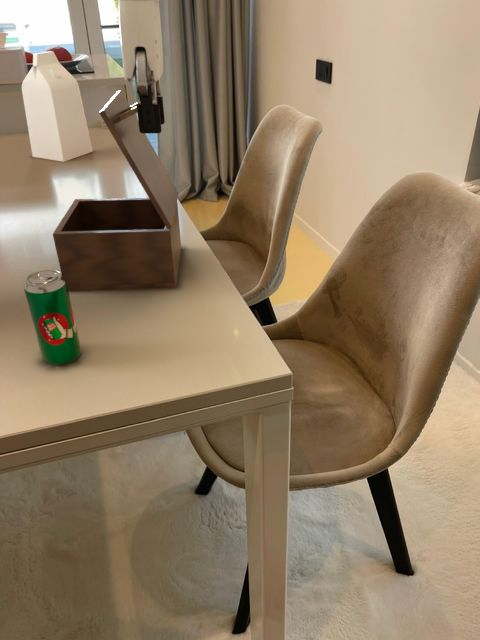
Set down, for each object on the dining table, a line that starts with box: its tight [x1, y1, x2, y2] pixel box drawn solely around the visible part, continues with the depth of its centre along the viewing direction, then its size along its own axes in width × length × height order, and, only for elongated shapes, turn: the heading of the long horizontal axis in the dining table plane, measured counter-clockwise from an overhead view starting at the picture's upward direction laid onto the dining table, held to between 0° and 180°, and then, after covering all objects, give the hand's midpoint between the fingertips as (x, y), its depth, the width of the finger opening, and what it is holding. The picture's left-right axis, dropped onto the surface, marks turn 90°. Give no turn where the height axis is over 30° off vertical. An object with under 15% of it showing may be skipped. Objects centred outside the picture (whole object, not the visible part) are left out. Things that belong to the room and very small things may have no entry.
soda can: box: [23, 269, 82, 366], centre depth 73 cm, size 5×5×12 cm
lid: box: [98, 89, 179, 229], centre depth 88 cm, size 19×16×5 cm
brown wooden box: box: [52, 197, 182, 292], centre depth 96 cm, size 18×16×10 cm
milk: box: [21, 50, 93, 163], centre depth 154 cm, size 12×12×26 cm
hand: (152, 127), depth 86 cm, fingers closed on lid, 5 cm apart
